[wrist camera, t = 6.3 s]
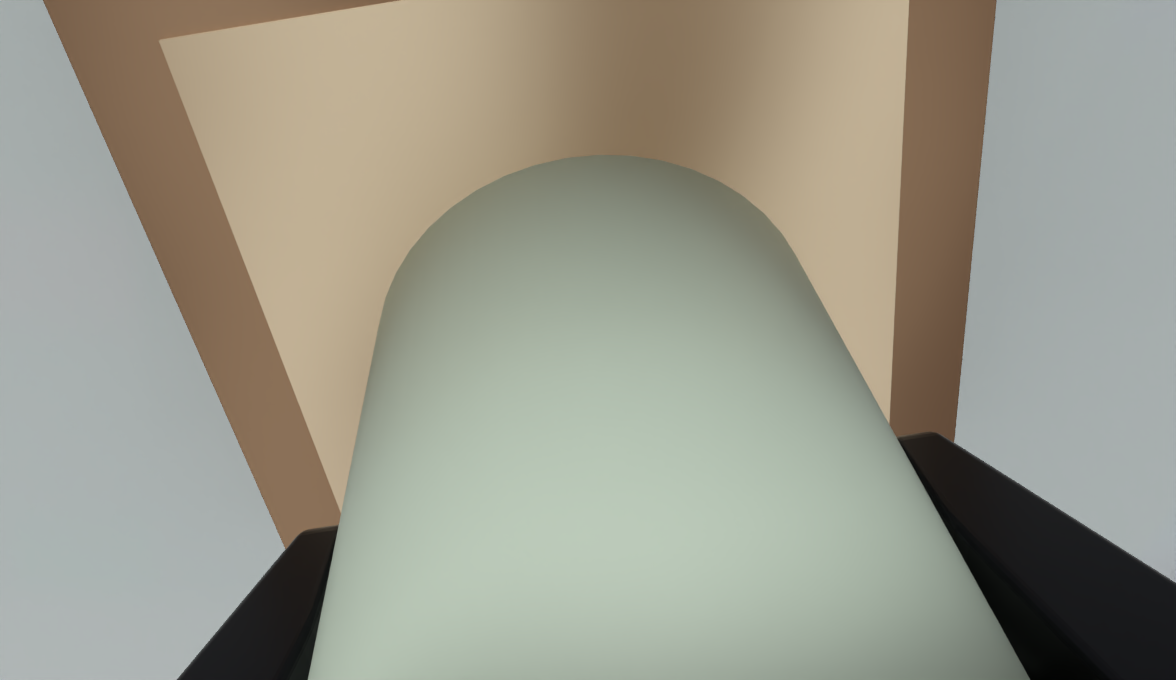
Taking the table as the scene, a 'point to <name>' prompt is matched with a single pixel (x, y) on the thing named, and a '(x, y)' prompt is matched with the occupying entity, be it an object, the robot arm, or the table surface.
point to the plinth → (514, 142)
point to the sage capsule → (632, 459)
